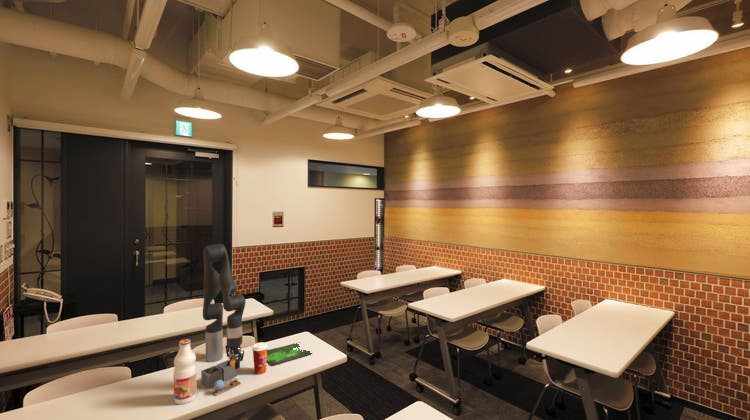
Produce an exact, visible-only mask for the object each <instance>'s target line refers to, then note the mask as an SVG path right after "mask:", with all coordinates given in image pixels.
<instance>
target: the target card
mask: <svg viewBox="0 0 750 420" xmlns="http://www.w3.org/2000/svg"><path fill="white" fill-rule="evenodd" d="M233 380H237V381H239V379H238V378H236V377H233V378H231V379H229V380H227V381H225V382H224V386H223V387H225V386H227V385H229V384H230V382H231V381H233ZM211 389H212V390H215V388H214V387H212V388H211Z"/></svg>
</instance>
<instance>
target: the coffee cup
mask: <svg viewBox="0 0 750 420" xmlns="http://www.w3.org/2000/svg"><path fill="white" fill-rule="evenodd" d="M268 347H269V346H268V343H266V342H262V341H261V342H257V343H254V344H253V345H252V349H251V350H252V354H253V355H252V357H253V371H254V374H256V375H263V374H265V373H266V372H267V371H266V370H267V363H268V362H267V350H268V349H269V348H268Z"/></svg>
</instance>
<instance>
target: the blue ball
mask: <svg viewBox="0 0 750 420" xmlns="http://www.w3.org/2000/svg"><path fill="white" fill-rule="evenodd" d="M223 386H224V382H223V381H222V380H218V381H216V383H215V384H214V388H215V389H216V390H221V389H222V388H223ZM215 389H214V390H215Z"/></svg>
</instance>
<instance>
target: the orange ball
mask: <svg viewBox="0 0 750 420" xmlns="http://www.w3.org/2000/svg"><path fill="white" fill-rule="evenodd" d="M230 365H231V367H235V358H233V359H232V360H231V362H230Z"/></svg>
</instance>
